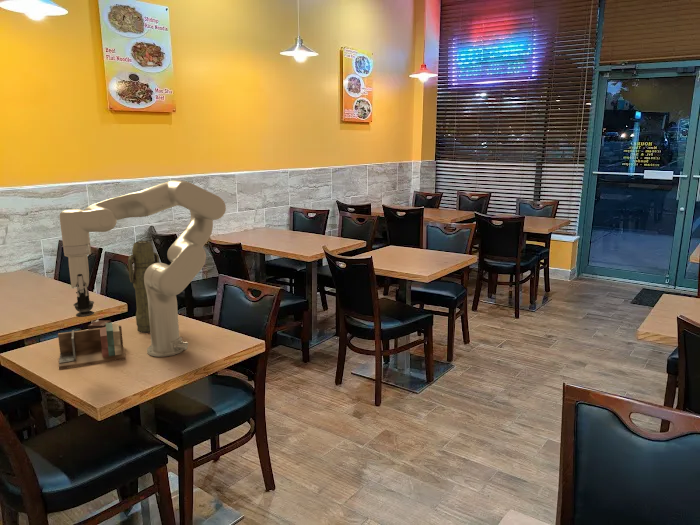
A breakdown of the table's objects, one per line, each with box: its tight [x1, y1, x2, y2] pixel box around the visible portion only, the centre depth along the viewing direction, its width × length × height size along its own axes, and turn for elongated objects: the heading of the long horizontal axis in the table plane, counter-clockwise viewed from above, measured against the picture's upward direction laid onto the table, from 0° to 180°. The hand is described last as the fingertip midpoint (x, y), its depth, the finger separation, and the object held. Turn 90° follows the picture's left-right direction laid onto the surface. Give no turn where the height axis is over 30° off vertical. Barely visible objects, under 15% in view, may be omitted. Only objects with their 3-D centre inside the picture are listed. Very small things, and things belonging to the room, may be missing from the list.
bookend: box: [58, 329, 76, 365], centre depth 181 cm, size 5×9×8 cm, turn 26°
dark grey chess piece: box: [73, 284, 95, 318], centre depth 170 cm, size 6×6×12 cm
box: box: [87, 320, 112, 330], centre depth 199 cm, size 6×6×7 cm
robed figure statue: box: [127, 240, 160, 334], centre depth 209 cm, size 9×12×35 cm
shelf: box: [57, 322, 126, 370], centre depth 184 cm, size 20×13×10 cm, turn 116°
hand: (84, 305), depth 171 cm, fingers closed on dark grey chess piece, 5 cm apart
